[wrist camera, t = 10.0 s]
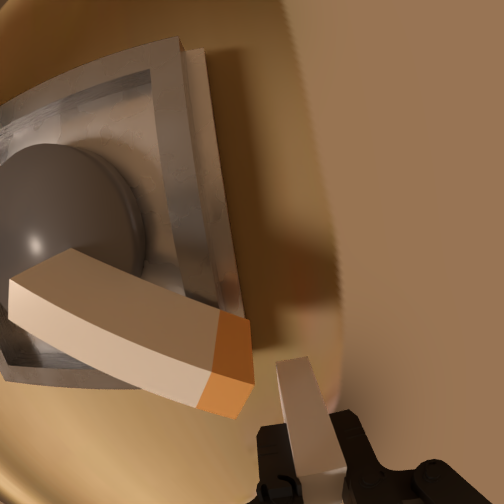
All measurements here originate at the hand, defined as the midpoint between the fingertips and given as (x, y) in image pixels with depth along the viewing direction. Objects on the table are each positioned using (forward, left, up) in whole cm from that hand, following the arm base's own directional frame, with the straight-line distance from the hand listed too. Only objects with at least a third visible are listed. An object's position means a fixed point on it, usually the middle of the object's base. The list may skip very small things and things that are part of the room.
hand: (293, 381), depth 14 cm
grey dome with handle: (-9, +6, -4) cm, 12 cm away
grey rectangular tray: (-12, +8, -5) cm, 15 cm away
